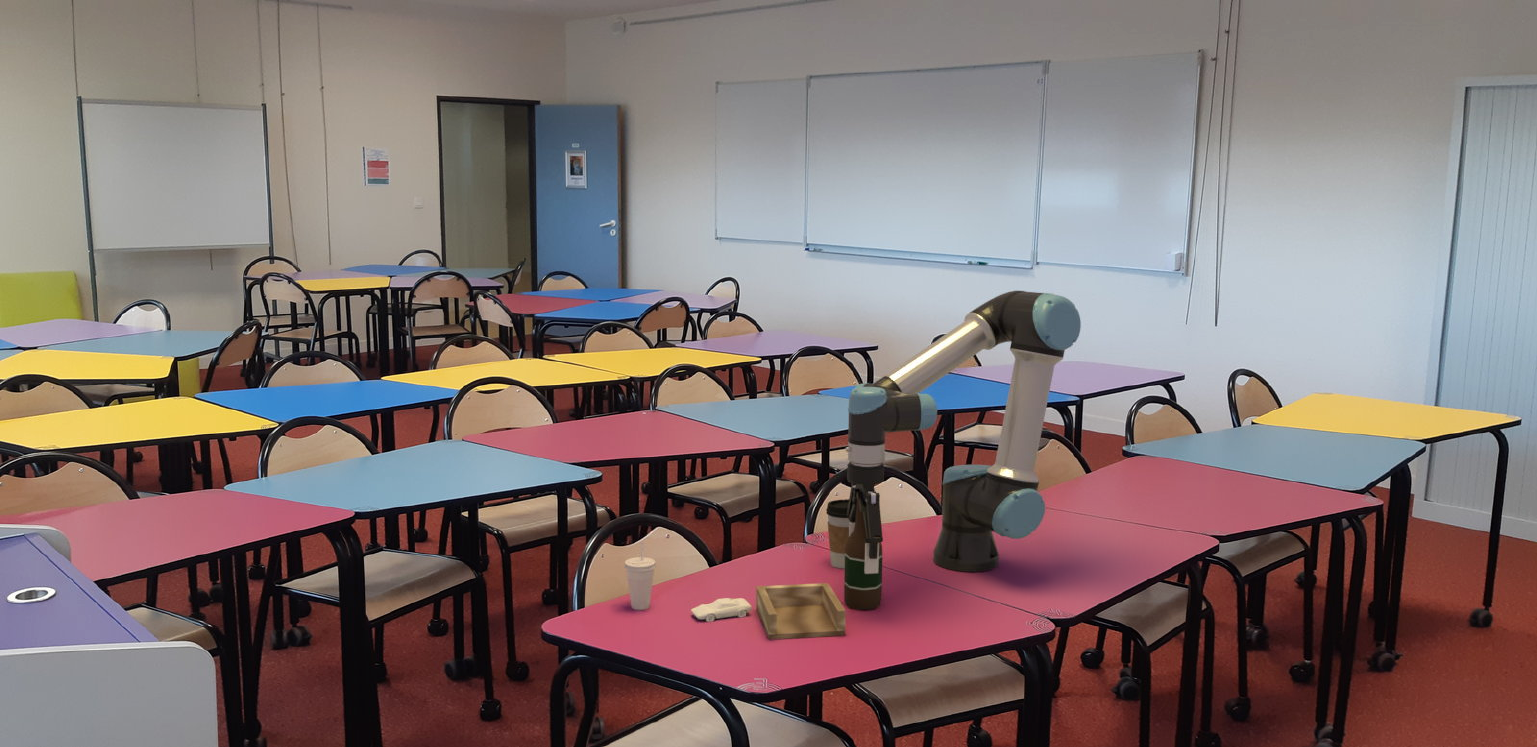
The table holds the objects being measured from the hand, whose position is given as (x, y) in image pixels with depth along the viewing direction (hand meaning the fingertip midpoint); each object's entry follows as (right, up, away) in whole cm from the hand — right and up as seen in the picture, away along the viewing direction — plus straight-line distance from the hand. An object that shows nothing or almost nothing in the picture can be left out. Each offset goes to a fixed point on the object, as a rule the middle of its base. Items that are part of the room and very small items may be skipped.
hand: (863, 562), depth 228 cm
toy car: (-29, -10, -5) cm, 31 cm away
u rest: (-13, -10, -9) cm, 19 cm away
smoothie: (-46, -9, -1) cm, 47 cm away
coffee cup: (-2, -5, +27) cm, 28 cm away
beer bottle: (0, -9, +1) cm, 9 cm away
